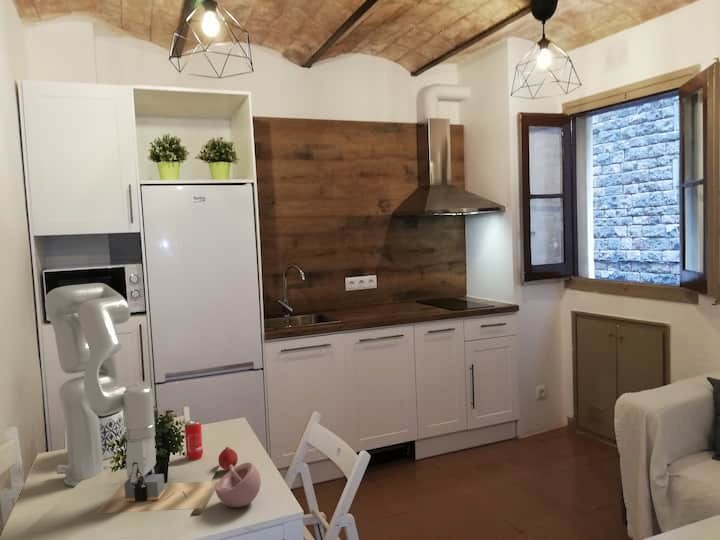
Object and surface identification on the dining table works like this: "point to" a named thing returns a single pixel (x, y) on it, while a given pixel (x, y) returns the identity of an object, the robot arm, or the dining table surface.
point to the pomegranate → (227, 458)
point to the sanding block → (153, 487)
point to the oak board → (165, 499)
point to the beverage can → (193, 439)
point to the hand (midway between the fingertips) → (145, 494)
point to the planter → (110, 431)
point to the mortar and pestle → (239, 485)
